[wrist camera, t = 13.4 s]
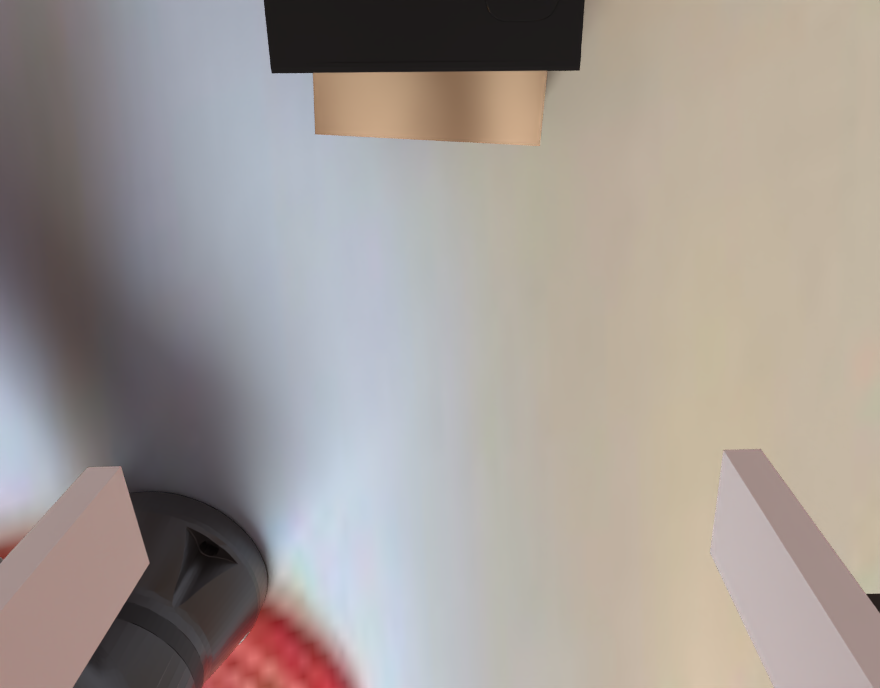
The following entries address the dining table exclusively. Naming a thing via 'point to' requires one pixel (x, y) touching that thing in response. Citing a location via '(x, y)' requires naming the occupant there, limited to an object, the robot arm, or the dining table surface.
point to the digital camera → (423, 35)
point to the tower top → (432, 105)
